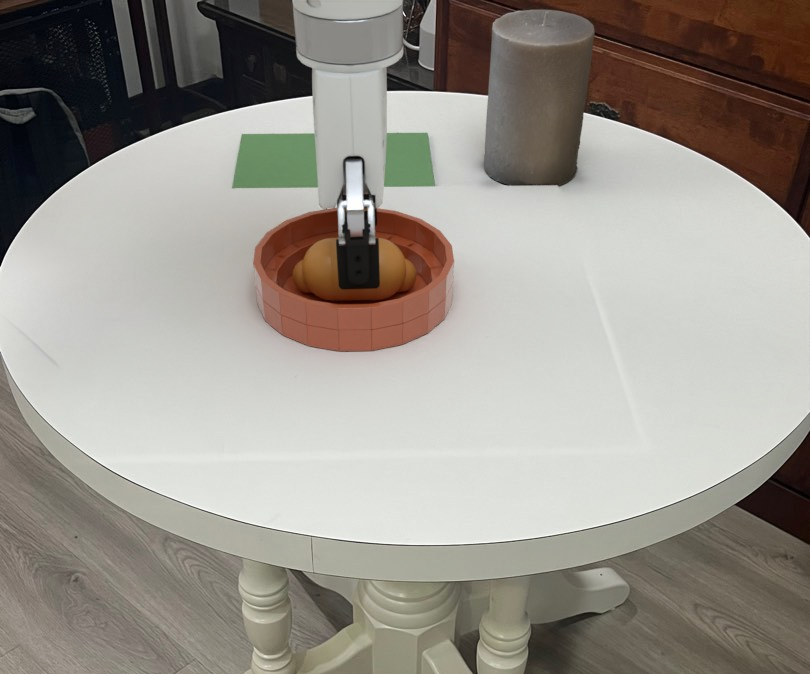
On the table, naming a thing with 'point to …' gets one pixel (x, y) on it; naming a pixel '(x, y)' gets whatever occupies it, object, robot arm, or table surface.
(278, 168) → the cloth
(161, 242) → the table surface
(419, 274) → the terracotta round dish
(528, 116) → the pillar candle
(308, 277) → the croissant
